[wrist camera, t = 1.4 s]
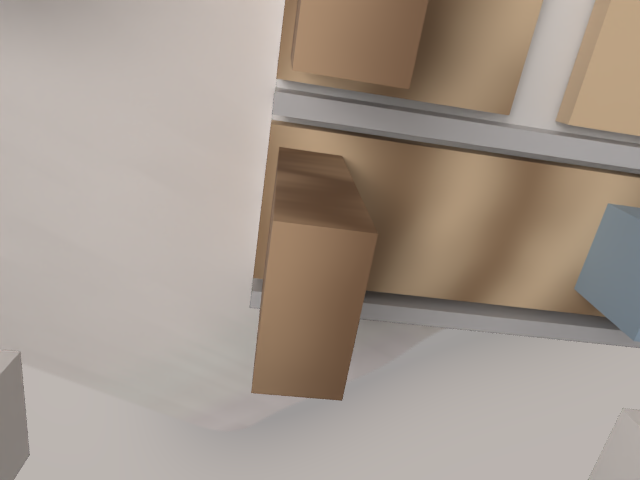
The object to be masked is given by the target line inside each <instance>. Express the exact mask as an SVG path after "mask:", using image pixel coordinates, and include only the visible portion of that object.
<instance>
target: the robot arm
mask: <svg viewBox="0 0 640 480" xmlns="http://www.w3.org/2000/svg"><path fill="white" fill-rule="evenodd" d="M29 455H30V454H29V443H28V431H27V420H26V409H25V398H24V386H23V376H22V364H21V352H20V351H11V350H1V349H0V480H14V479H15V477H16V475H17V474H18V472H19V471H20V469H21V468H22V466H23V464H24V463H25V461H26V460H27V458H28V457H29ZM588 480H640V410H634V409H624V408H623V409H622V411H621V413H620V415H619V417H618V419H617V421H616V423H615V425H614V427H613V429H612V432H611V433H610V436H609V438H608V440H607V442H606V444H605V446H604V448H603V450H602V452H601V454H600V456H599V458H598V460H597V462H596V464H595V466H594V468H593V471H592V472H591V475H590V477H589V479H588Z"/></svg>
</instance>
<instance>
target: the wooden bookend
mask: <svg viewBox="0 0 640 480" xmlns="http://www.w3.org/2000/svg"><path fill="white" fill-rule="evenodd" d="M542 3H543V0H285V8H284V16H283V25H282V34H281V42H280V51H279V60H278V68H277V77H276V79H282V80H288V81H295V82H301V83H307V84H314V85H320V86H326V87H333V88H339V89H345V90H351V91H358V92H364V93H370V94H377V95H383V96H389V97H396V98H402V99H408V100H415V101H421V102H427V103H434V104H440V105H446V106H453V107H459V108H465V109H471V110H478V111H484V112H490V113H497V114H503V115H509V114H510V111H511V108H512V104H513V101H514V97H515V94H516V91H517V87H518V84H519V81H520V77H521V74H522V70H523V67H524V64H525V60H526V57H527V53H528V50H529V47H530V43H531V40H532V37H533V33H534V30H535V26H536V23H537V20H538V16H539V13H540V10H541V6H542Z"/></svg>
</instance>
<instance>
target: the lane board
mask: <svg viewBox="0 0 640 480" xmlns="http://www.w3.org/2000/svg"><path fill="white" fill-rule="evenodd" d="M272 114H273V115H272V120H277V121H284V122H290V123H297V124H304V125H311V126H317V127H324V128H331V129H337V130H344V131H351V132H358V133H364V134H371V135H378V136H385V137H391V138H398V139H405V140H412V141H418V142H425V143H432V144H439V145H445V146H452V147H459V148H466V149H472V150H479V151H486V152H492V153H499V154H506V155H513V156H519V157H526V158H533V159H540V160H546V161H553V162H560V163H567V164H573V165H580V166H587V167H594V168H600V169H607V170H614V171H621V172H627V173H634V174H640V0H543V3H542V6H541V10H540V13H539V16H538V20H537V23H536V26H535V30H534V33H533V37H532V40H531V43H530V47H529V50H528V53H527V57H526V60H525V64H524V67H523V70H522V74H521V77H520V81H519V84H518V87H517V91H516V94H515V97H514V101H513V104H512V108H511V111H510V114H509V115H503V114H497V113H490V112H484V111H478V110H471V109H465V108H459V107H453V106H446V105H440V104H434V103H427V102H421V101H415V100H408V99H402V98H396V97H389V96H383V95H377V94H370V93H364V92H358V91H351V90H345V89H339V88H333V87H326V86H320V85H314V84H307V83H301V82H295V81H288V80H282V79H277V80H276V88H275V93H274V101H273V110H272ZM262 285H263V279H258V278H253V284H252V291H251V300H250V308H257V309H260V304H261V295H262ZM360 319H363V320H373V321H383V322H392V323H402V324H412V325H422V326H431V327H441V328H451V329H460V330H470V331H481V332H490V333H499V334H509V335H519V336H528V337H538V338H549V339H558V340H568V341H578V342H587V343H597V344H606V345H616V346H626V347H636V348H640V342H637V341H633V340H632V339H631V338H629V337H628V336H627V335H626V334H625V333H624V332H623V331H621V330H620V329H619V328H618V327H617V326H616V325H615V324H613V323H612V322H611V321H610V320H609V319H608V318H607V317H603V316H594V315H584V314H575V313H566V312H557V311H548V310H539V309H530V308H521V307H512V306H503V305H494V304H485V303H476V302H466V301H457V300H448V299H439V298H430V297H421V296H412V295H403V294H394V293H385V292H376V291H367V290H366V292H365V297H364V301H363V306H362V311H361V315H360Z"/></svg>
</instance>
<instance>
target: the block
mask: <svg viewBox="0 0 640 480" xmlns="http://www.w3.org/2000/svg"><path fill="white" fill-rule="evenodd" d="M574 289H575V290H576V291H577V292H578V293H579V294H580V295H581V296H583V297H584V298H585V299H586V300H587V301H588V302H589V303H591V304H592V305H593V306H594V307H595V308H596V309H597V310H599V311H600V312H601V313H602V314H603V315H604V316H605V317H607V318H608V319H609V320H610V321H611V322H612V323H613V324H615V325H616V326H617V327H618V328H619V329H620V330H621V331H623V332H624V333H625V334H626V335H627V336H628V337H629V338H631V339H632V340H633V341H637V342H640V208H638V207H631V206H623V205H616V204H609V203H608V205H607V207H606V210H605V212H604V215H603V217H602V220H601V222H600V225H599V227H598V230H597V232H596V235H595V237H594V240H593V242H592V245H591V247H590V250H589V252H588V255H587V257H586V260H585V262H584V265H583V267H582V270H581V272H580V275H579V277H578V280H577V283H576V285H575V288H574Z"/></svg>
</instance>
